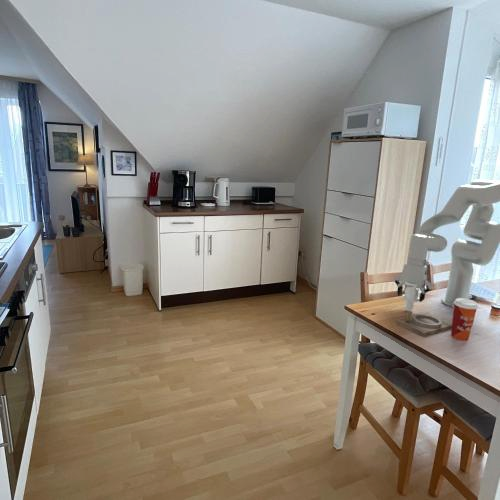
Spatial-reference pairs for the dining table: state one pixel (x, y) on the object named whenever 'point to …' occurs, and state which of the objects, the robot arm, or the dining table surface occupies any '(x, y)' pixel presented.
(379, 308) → the dining table surface
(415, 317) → the locating board
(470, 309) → the coffee cup
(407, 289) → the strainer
